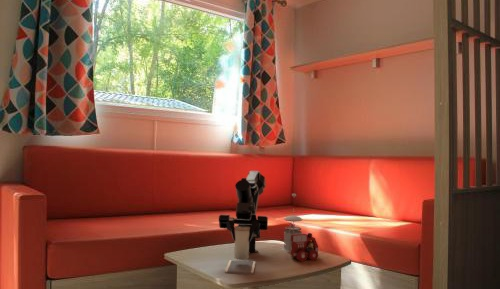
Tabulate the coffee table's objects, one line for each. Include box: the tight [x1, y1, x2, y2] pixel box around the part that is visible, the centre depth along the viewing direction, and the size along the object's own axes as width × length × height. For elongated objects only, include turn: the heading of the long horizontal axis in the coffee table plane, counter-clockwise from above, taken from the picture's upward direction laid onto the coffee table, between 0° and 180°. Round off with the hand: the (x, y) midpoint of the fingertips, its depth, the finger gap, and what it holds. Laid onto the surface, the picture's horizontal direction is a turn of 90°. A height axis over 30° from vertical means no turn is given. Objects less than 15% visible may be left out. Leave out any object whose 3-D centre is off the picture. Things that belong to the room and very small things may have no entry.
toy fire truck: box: [290, 232, 319, 262], centre depth 175 cm, size 7×12×10 cm, turn 113°
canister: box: [233, 225, 250, 261], centre depth 161 cm, size 6×6×12 cm
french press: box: [281, 193, 303, 254], centre depth 189 cm, size 10×12×25 cm
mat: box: [224, 259, 256, 275], centre depth 159 cm, size 15×10×1 cm, turn 176°
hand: (241, 240), depth 160 cm, fingers closed on canister, 5 cm apart
